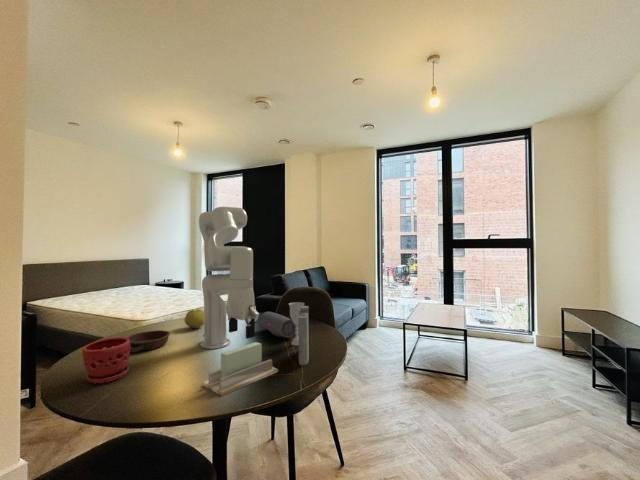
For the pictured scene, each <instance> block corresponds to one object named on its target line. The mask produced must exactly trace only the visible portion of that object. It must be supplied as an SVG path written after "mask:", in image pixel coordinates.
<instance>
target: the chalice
mask: <svg viewBox="0 0 640 480" xmlns="http://www.w3.org/2000/svg"><path fill="white" fill-rule="evenodd" d="M288 305H289V316H290V319H291V320H292V321H293V323H294V324H295V325H296V328H295V329H296V330H295V333H294V334H295V337H294V338H293V339H292V341H291V344H290V345H292V346H299V320H298V317H299V309H300V307H301V306H305V302H300V301H298V302H296V301H295V302H294V301H293V302H290V303H288Z"/></svg>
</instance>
